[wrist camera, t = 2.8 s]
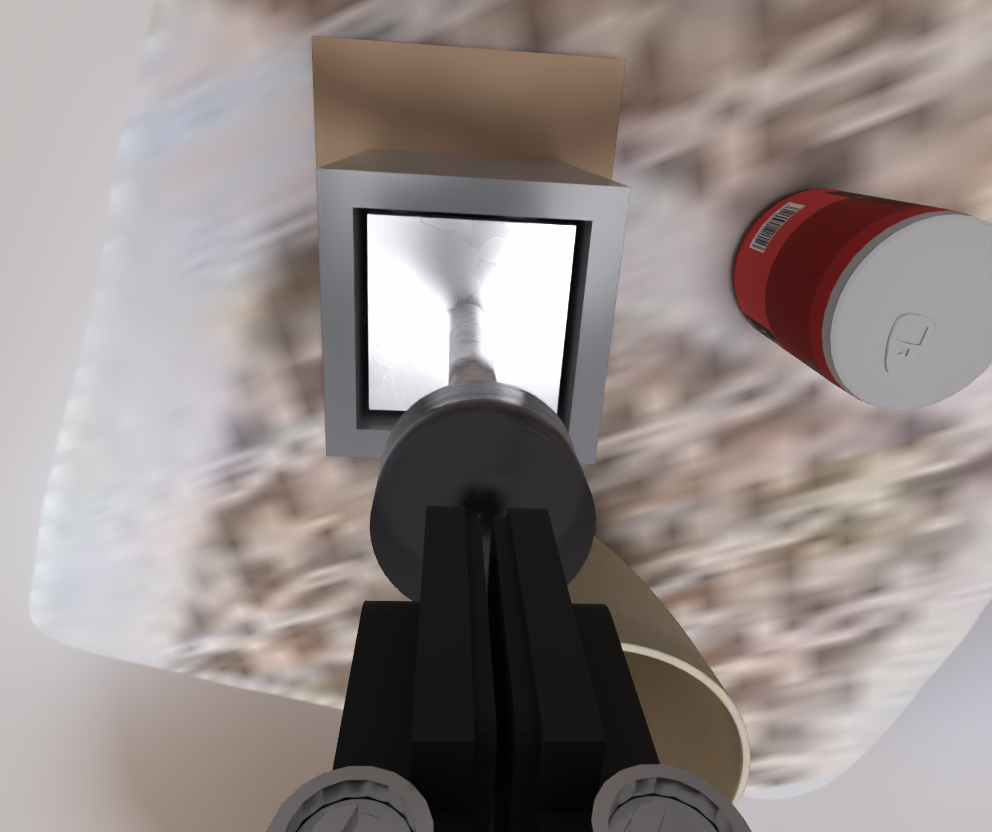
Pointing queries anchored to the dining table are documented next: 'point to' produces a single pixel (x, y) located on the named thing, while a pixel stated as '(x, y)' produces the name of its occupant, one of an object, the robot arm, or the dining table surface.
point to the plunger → (470, 381)
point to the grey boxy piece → (470, 193)
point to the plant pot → (669, 677)
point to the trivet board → (464, 102)
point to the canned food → (872, 293)
